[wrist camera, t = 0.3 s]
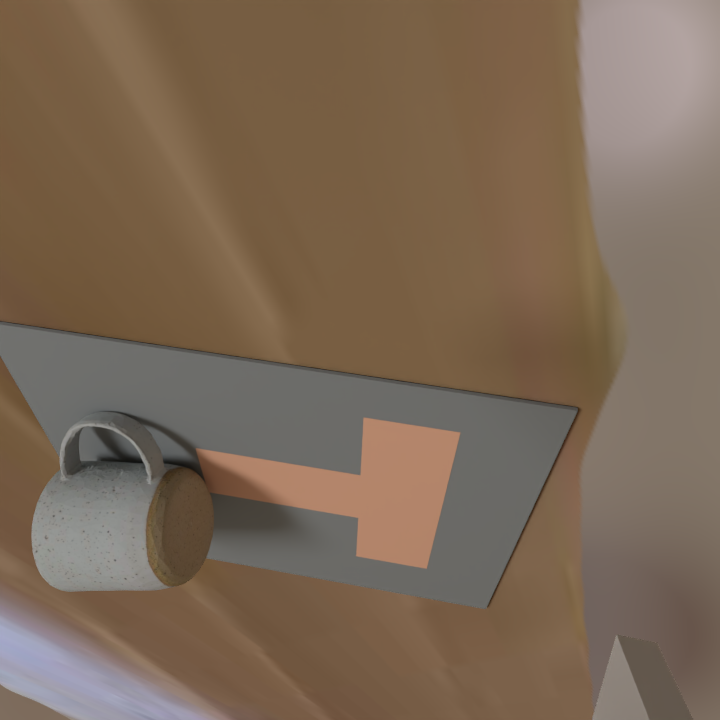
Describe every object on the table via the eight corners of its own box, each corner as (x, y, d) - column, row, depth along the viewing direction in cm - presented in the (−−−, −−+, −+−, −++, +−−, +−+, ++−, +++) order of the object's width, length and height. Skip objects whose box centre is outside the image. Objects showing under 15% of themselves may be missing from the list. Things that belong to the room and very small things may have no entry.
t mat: (-18, 318, 32) (-20, 321, 31) (577, 407, 29) (577, 411, 29) (108, 537, 49) (107, 540, 49) (486, 606, 46) (485, 609, 46)
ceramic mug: (234, 507, 41) (192, 621, 36) (130, 503, 43) (76, 611, 38) (162, 401, 34) (97, 525, 29) (43, 405, 36) (-37, 519, 31)
